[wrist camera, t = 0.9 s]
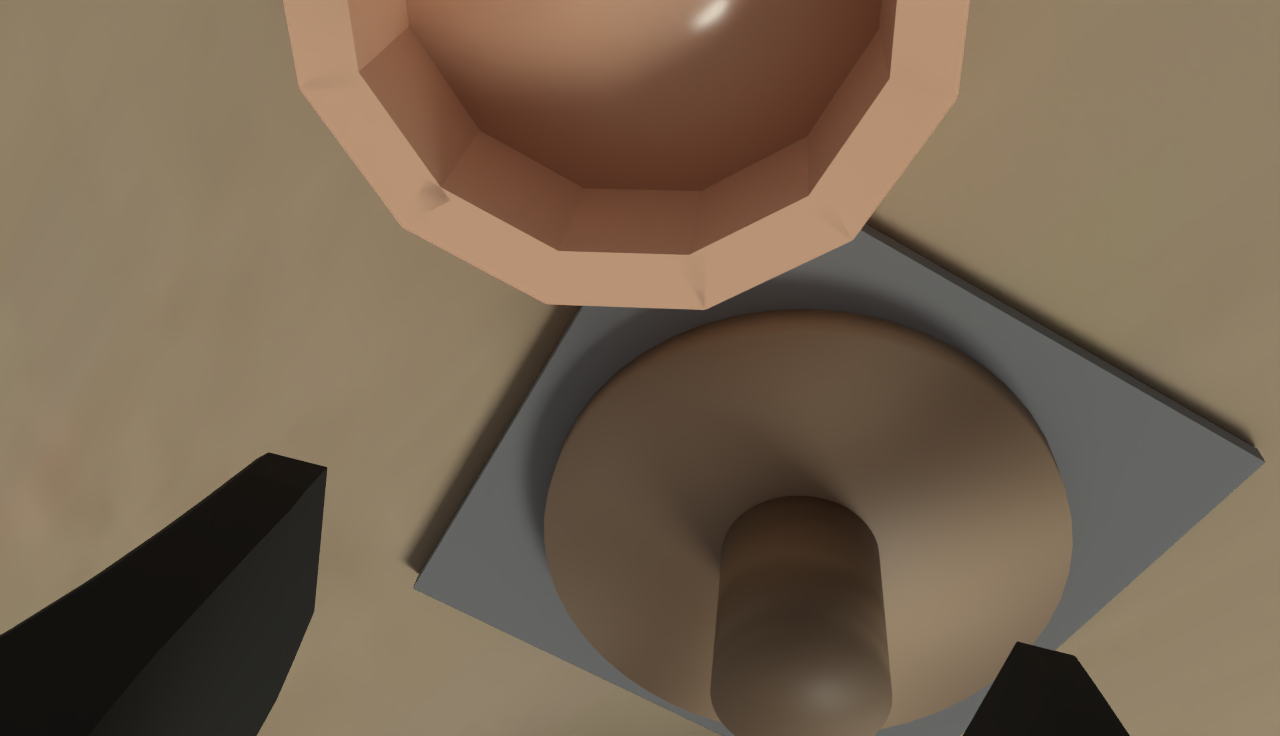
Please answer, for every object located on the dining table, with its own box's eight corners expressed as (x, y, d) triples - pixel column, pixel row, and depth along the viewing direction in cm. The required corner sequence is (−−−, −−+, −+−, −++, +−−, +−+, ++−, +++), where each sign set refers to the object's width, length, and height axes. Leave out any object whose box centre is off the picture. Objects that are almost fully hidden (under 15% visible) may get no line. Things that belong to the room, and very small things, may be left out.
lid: (1181, 474, 21) (1262, 645, 17) (866, 767, 26) (877, 948, 22) (710, 210, 19) (689, 337, 15) (472, 578, 24) (415, 740, 21)
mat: (1257, 449, 21) (1265, 462, 20) (876, 795, 27) (877, 809, 26) (690, 122, 19) (688, 131, 18) (418, 576, 25) (412, 588, 24)
